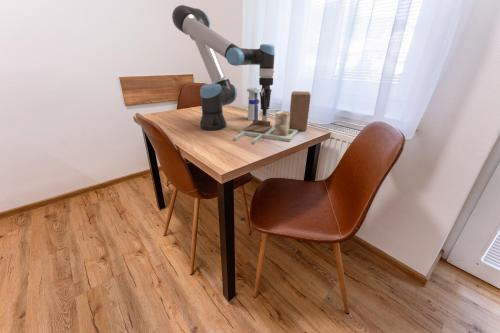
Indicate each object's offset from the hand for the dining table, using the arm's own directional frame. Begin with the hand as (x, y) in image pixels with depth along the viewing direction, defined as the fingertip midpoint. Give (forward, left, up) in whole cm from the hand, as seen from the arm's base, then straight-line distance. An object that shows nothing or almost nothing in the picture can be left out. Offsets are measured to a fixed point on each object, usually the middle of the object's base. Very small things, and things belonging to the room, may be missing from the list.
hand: (264, 120), depth 127 cm
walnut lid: (0, -10, -2) cm, 10 cm away
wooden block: (+18, +6, -4) cm, 20 cm away
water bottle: (-14, +15, -4) cm, 21 cm away
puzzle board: (+7, -15, -4) cm, 17 cm away
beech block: (+14, -10, -4) cm, 17 cm away
